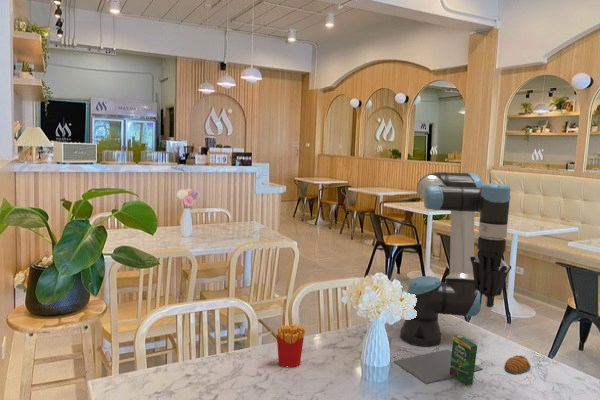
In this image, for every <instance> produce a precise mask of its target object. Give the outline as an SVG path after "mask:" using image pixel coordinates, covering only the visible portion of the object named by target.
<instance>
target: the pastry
mask: <svg viewBox="0 0 600 400" xmlns="http://www.w3.org/2000/svg"><path fill="white" fill-rule="evenodd" d="M531 368H532V366H531V364H530V362H529V359H528V358H527V357H525V356H523V355H517V354H516V355H514V356H513V357H509V358H508V359H507V360H506V361H505V363H504V371H505V372H508V373H511V374H514V375H516V374H524V373H526V372H528V371H529V370H530V369H531Z"/></svg>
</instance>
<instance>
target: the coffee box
mask: <svg viewBox="0 0 600 400" xmlns="http://www.w3.org/2000/svg"><path fill="white" fill-rule="evenodd" d="M477 350H478V344H476V343H474V342H472V341H470V340H469V339H467V338H466V337H464V336H462V335H461V334H456V335H453V338H452V346H451V351H452V355H451V364H450V374H451V375H452V376H454V377H453V378H456V379H457V380H458V381H459V382H461V384H463V385H465V386H466V387H468V386H469V387H470V386H472V385H473V384H474V377H475V372H474V369H475V365H476V360H477V359H476V358H477V353H478V352H477Z"/></svg>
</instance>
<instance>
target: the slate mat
mask: <svg viewBox="0 0 600 400" xmlns="http://www.w3.org/2000/svg"><path fill="white" fill-rule="evenodd" d="M451 355H452V350H449V349H447V348H446V349H443V350H437V351H433V352H429V353H428V352H427V353H424V354H419V355H415V356H411V357H407V358H401V359H396V360H393V362H394V363H395V364H396V365H397V366H399V367H400V368H402V369H403V370H404V371H406V372H408V373H410V374H411V375H412V376H413V377H415V378H417V379H418V380H419V381H420V382H422V383H424V384H425V385H429V384H433V383H437V382H441V381H445V380H448V379H452V378H453V379H454V378H455V377H454V376H452V375H451V374H450V364H451ZM483 370H484V369H483V368H482V367H481V366H479V365H477V364H475V369H474V373H475V372H476V373H477V372H479V371H483Z"/></svg>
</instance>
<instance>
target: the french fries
mask: <svg viewBox="0 0 600 400" xmlns="http://www.w3.org/2000/svg"><path fill="white" fill-rule="evenodd" d="M276 329H277V335H276V344H277V345H276V346H277V356H278V357H277V358H278V359H277V360H278V366H279V365H280V366H279V367H281V366H282V367H281V368H286V367H285V366H288V367H287V368H298V367H300V366H299V365H301V360H302V359H301V358H302V352H303V346H304V340H305V339H304V335H305V333H306V327H305V326H301V325H300V324H299V325H298V324H295V323H294V324H292V323H290V325H287V324H283V325H281V326H277V328H276ZM297 366H298V367H297Z"/></svg>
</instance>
